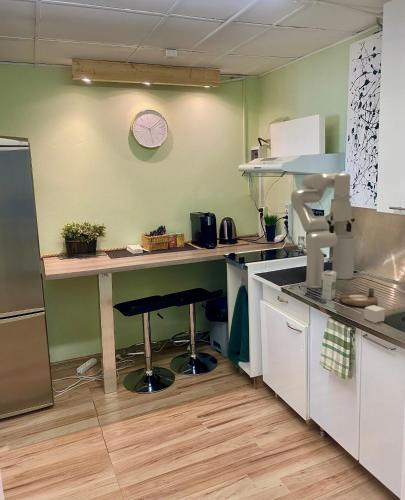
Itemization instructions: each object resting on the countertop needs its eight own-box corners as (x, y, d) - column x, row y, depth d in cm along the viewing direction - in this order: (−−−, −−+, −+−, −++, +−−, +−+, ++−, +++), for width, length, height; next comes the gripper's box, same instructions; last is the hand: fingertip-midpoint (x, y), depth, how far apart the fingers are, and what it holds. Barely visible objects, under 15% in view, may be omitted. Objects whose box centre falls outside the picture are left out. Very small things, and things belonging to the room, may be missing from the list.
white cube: (372, 317, 192) (373, 304, 191) (384, 321, 187) (385, 308, 186) (364, 319, 189) (364, 307, 188) (375, 324, 184) (376, 311, 183)
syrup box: (324, 295, 223) (325, 269, 220) (335, 298, 219) (336, 271, 216) (320, 298, 219) (321, 272, 216) (331, 300, 215) (332, 273, 212)
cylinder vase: (327, 276, 260) (329, 236, 255) (343, 273, 265) (345, 234, 260) (342, 281, 249) (344, 240, 244) (357, 278, 254) (360, 237, 249)
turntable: (333, 296, 219) (333, 286, 218) (364, 293, 222) (365, 283, 221) (350, 307, 202) (351, 296, 201) (384, 304, 205) (385, 294, 204)
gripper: (352, 197, 213) (350, 230, 216) (321, 198, 209) (320, 232, 212) (361, 198, 206) (359, 232, 209) (329, 199, 202) (328, 234, 205)
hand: (340, 232), depth 211 cm, fingers open, 9 cm apart
